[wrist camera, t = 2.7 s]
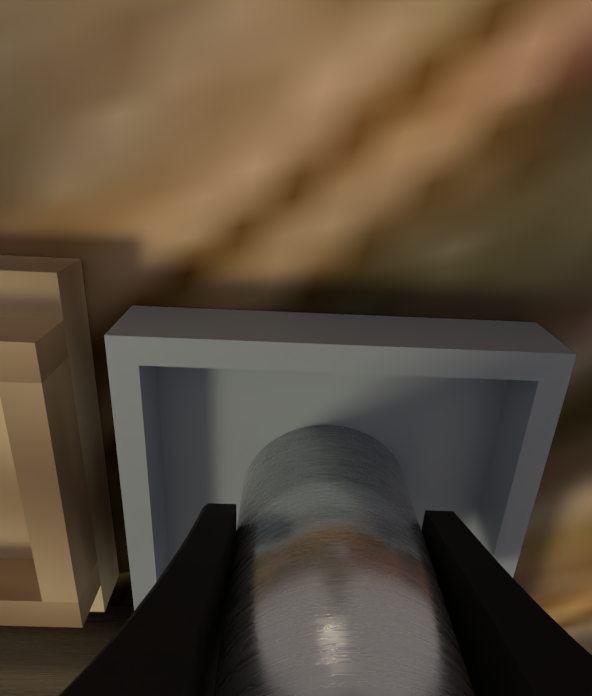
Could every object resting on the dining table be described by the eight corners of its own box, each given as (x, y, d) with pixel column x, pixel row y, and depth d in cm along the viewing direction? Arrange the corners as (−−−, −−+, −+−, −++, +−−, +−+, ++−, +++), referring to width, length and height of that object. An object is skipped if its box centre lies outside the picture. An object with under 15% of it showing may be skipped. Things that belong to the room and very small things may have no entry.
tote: (464, 609, 15) (486, 669, 13) (157, 601, 15) (139, 661, 13) (535, 322, 11) (576, 354, 10) (132, 305, 11) (104, 335, 9)
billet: (394, 558, 13) (467, 862, 8) (242, 554, 13) (205, 858, 8) (415, 427, 12) (526, 690, 6) (242, 421, 12) (197, 682, 6)
